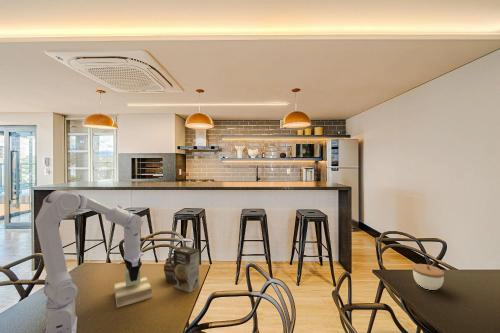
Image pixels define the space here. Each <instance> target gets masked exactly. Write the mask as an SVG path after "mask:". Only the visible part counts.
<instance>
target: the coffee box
mask: <svg viewBox="0 0 500 333" xmlns="http://www.w3.org/2000/svg"><path fill="white" fill-rule="evenodd" d="M173 255H174V283H173V288H175V289H178V290H181V291H183V292H187V293H191V292H193V291H194V290H196V289H197V288H199V287H200V249H199V248H195V247H190V246H186V245H183V246H179V247H177V248H175V249H174V250H173Z"/></svg>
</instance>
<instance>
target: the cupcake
mask: <svg viewBox="0 0 500 333" xmlns="http://www.w3.org/2000/svg"><path fill="white" fill-rule="evenodd" d="M163 272H164V276H165V281H166V282H167V283H170V284H174V254H173V255H172V256H171V257H169V258H168V257H167V258H166V259H165V263H164V264H163Z"/></svg>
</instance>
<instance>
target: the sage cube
mask: <svg viewBox="0 0 500 333" xmlns="http://www.w3.org/2000/svg"><path fill="white" fill-rule="evenodd" d="M140 278H141V268H140V269H139V272H138V277H137V280H136V281H132V282H131V280H130V276H129V271H128V269H127V268H124V281H125V283H126V286H130V285H134V284H137V283H140Z"/></svg>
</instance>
